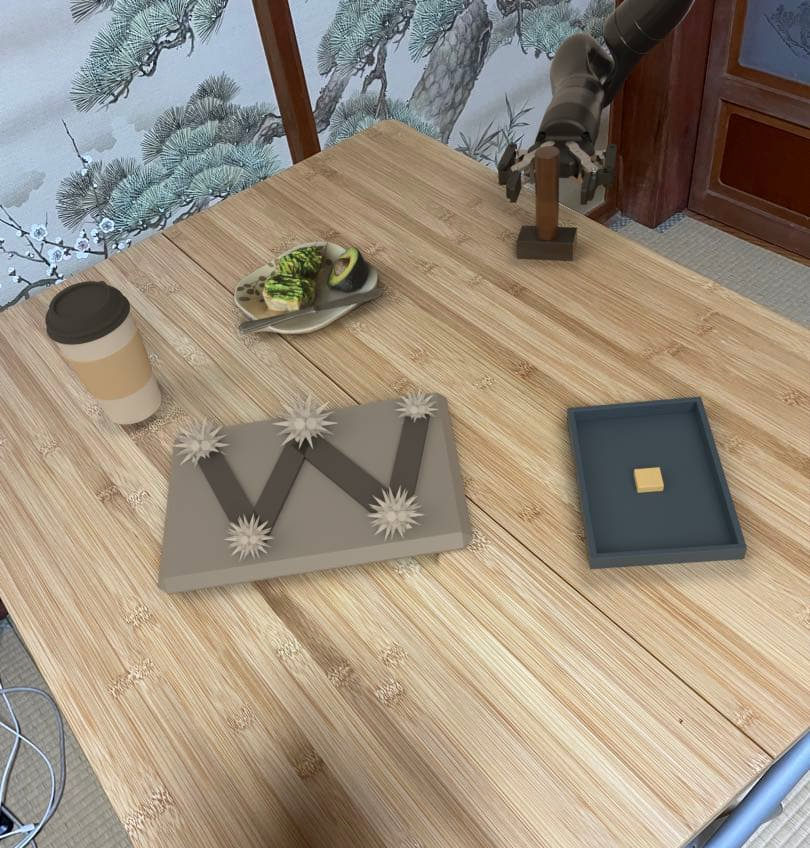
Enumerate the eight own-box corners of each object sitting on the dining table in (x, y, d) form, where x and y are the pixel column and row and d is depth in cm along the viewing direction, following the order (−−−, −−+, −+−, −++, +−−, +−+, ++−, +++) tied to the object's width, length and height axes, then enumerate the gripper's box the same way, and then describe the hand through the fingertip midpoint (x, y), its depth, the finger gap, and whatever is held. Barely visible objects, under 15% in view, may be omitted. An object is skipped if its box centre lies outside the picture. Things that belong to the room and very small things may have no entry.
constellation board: (162, 604, 79) (133, 559, 74) (179, 445, 93) (156, 397, 87) (475, 555, 78) (470, 505, 72) (446, 401, 91) (439, 349, 86)
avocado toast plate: (279, 371, 98) (269, 340, 95) (203, 310, 108) (191, 280, 104) (404, 293, 104) (399, 261, 101) (321, 242, 114) (314, 211, 110)
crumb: (633, 474, 80) (633, 468, 79) (658, 472, 80) (659, 466, 79) (637, 493, 79) (637, 487, 78) (663, 491, 78) (664, 485, 78)
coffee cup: (111, 443, 94) (49, 336, 83) (85, 401, 99) (24, 295, 88) (183, 406, 97) (133, 298, 85) (154, 367, 102) (103, 260, 90)
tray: (566, 425, 87) (567, 407, 85) (697, 414, 85) (701, 396, 83) (589, 575, 75) (590, 559, 73) (742, 565, 73) (747, 548, 71)
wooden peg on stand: (522, 242, 108) (519, 144, 98) (576, 245, 106) (580, 144, 96) (517, 258, 106) (514, 159, 96) (572, 261, 104) (575, 160, 94)
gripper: (514, 101, 108) (487, 166, 99) (626, 100, 105) (610, 167, 95) (516, 157, 114) (491, 223, 105) (622, 158, 110) (606, 227, 101)
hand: (547, 196), depth 100 cm, fingers open, 8 cm apart
